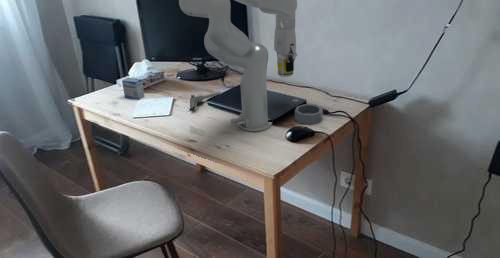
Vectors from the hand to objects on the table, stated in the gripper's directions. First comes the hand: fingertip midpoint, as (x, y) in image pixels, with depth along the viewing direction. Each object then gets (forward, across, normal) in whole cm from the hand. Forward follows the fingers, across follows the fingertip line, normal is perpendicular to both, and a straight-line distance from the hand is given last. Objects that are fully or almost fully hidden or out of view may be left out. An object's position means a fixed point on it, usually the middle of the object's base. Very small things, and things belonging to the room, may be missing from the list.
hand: (285, 68), depth 169 cm
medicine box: (+17, -44, -54) cm, 71 cm away
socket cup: (+16, +16, +1) cm, 23 cm away
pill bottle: (+3, 0, 0) cm, 3 cm away
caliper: (+16, -22, -27) cm, 38 cm away
